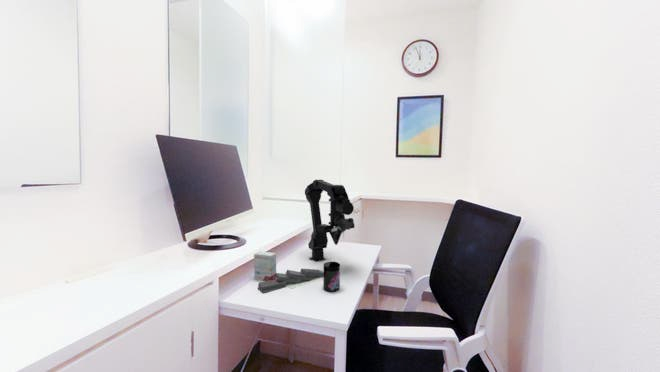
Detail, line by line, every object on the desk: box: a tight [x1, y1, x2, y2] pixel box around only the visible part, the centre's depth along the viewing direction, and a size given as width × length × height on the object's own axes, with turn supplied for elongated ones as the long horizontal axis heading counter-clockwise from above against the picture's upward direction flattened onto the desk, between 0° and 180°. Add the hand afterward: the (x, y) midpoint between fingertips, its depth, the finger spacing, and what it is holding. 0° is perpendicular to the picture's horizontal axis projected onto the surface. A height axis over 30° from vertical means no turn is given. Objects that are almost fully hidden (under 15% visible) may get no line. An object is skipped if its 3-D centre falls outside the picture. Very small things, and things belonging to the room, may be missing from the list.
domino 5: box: [299, 268, 324, 277], centre depth 127 cm, size 5×2×10 cm
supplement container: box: [322, 261, 341, 293], centre depth 116 cm, size 7×7×10 cm
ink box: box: [253, 250, 277, 282], centre depth 125 cm, size 9×5×12 cm, turn 71°
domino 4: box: [285, 269, 312, 281], centre depth 123 cm, size 5×2×10 cm
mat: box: [286, 269, 324, 289], centre depth 127 cm, size 9×24×1 cm, turn 128°
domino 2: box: [257, 285, 287, 294], centre depth 116 cm, size 5×2×10 cm
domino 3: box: [275, 272, 301, 283], centre depth 121 cm, size 5×2×10 cm
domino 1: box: [257, 278, 287, 291], centre depth 117 cm, size 5×2×10 cm
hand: (336, 244), depth 135 cm, fingers closed
